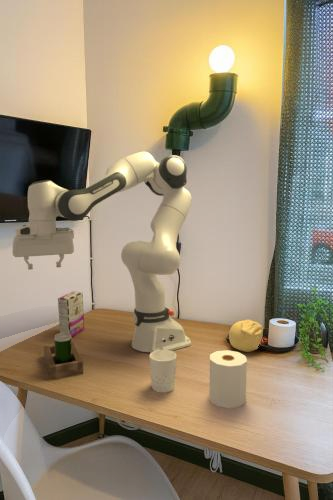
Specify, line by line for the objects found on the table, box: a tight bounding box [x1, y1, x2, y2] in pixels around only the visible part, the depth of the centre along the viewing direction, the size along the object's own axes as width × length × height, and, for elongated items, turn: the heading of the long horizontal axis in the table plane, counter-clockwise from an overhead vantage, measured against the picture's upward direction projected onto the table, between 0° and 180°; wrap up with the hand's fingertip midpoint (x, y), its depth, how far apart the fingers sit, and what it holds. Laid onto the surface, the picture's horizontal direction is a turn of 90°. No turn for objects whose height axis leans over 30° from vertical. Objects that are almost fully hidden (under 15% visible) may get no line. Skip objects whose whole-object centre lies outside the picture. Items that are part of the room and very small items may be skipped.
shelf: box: [43, 341, 84, 381], centre depth 128 cm, size 10×18×4 cm, turn 24°
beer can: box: [53, 332, 73, 365], centre depth 123 cm, size 5×5×12 cm
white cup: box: [149, 350, 177, 394], centre depth 113 cm, size 8×8×10 cm
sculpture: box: [228, 319, 264, 353], centre depth 141 cm, size 12×12×11 cm
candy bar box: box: [57, 290, 85, 338], centre depth 156 cm, size 11×5×16 cm, turn 161°
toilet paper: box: [208, 349, 248, 409], centre depth 107 cm, size 10×10×12 cm
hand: (44, 268), depth 133 cm, fingers open, 8 cm apart
